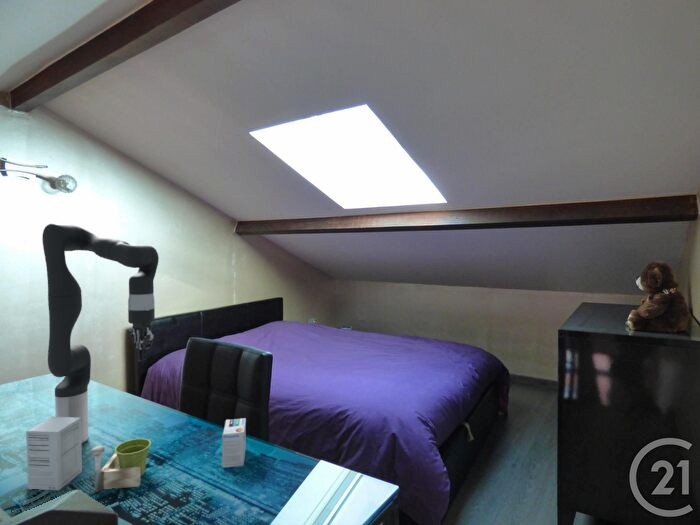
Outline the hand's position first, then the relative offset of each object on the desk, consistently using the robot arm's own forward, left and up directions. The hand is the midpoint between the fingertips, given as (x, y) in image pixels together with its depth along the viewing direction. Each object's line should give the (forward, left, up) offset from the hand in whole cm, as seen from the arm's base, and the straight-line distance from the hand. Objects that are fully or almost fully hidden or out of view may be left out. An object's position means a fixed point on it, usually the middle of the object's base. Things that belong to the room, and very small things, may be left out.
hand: (142, 360), depth 126 cm
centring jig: (+9, -14, -31) cm, 35 cm away
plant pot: (+9, -7, -31) cm, 33 cm away
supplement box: (-6, -22, -31) cm, 39 cm away
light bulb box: (+26, +16, -31) cm, 44 cm away
